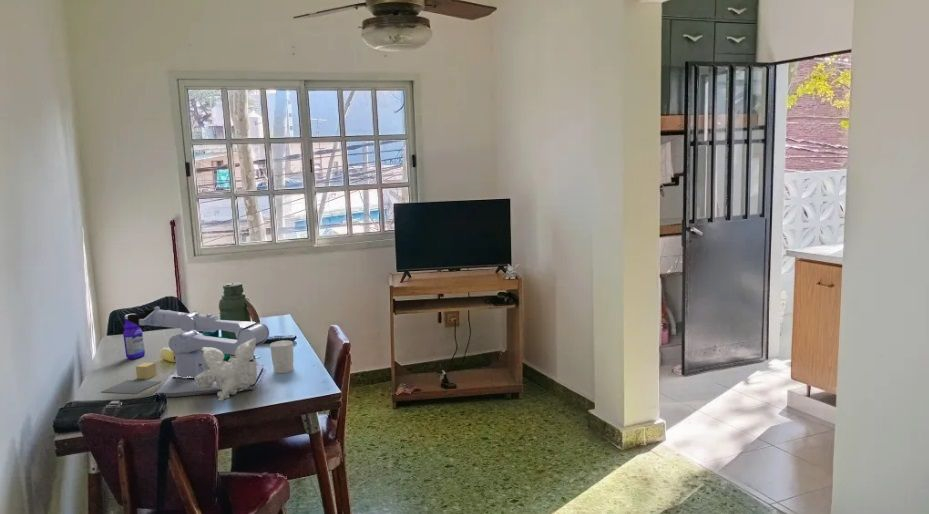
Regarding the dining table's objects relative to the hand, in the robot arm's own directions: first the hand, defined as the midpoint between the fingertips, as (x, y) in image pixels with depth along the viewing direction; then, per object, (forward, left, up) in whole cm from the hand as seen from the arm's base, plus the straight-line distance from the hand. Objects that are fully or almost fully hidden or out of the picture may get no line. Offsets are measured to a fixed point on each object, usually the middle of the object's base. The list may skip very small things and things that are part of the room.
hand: (136, 315), depth 237 cm
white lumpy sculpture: (-45, +13, -22) cm, 52 cm away
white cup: (-52, -9, -22) cm, 57 cm away
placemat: (-7, +14, -22) cm, 27 cm away
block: (-4, +3, -22) cm, 22 cm away
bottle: (+19, -18, -22) cm, 34 cm away
